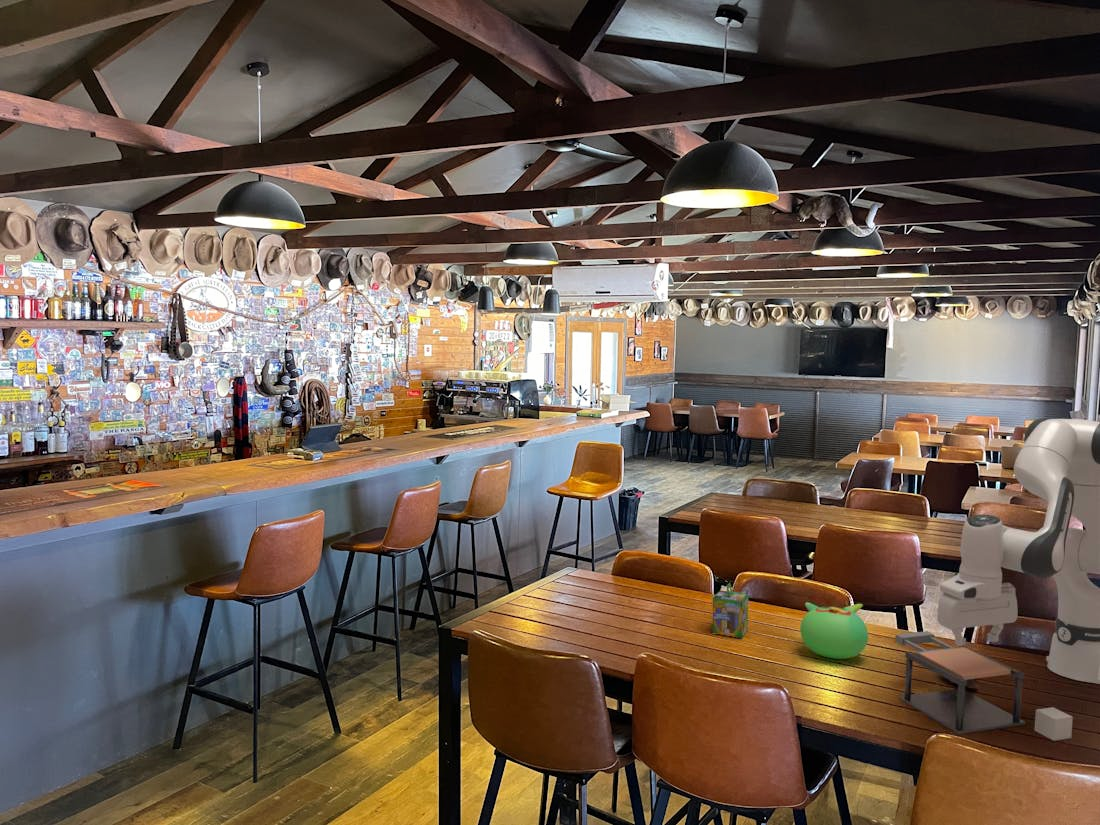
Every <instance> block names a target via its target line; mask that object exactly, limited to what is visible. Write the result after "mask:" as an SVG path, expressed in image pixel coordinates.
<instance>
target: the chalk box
mask: <svg viewBox="0 0 1100 825" xmlns="http://www.w3.org/2000/svg"><path fill="white" fill-rule="evenodd" d="M749 598H750V597H749V594H748V593H741V592H738V591H733V589H732V584H731V582H729V583H727V585H726V590H721V589H720V590H719V591H718V592H717V593H716V594H715V595H714V596H713V597H712V632H711V633H716V634H722V635H726V636H725V637H729V636H732V637H731V638H735V637H736V639H741V638H742V639H743V638H744V636H745V635H744V634H746V633H747V632H748V627H749V624H748V623H749ZM722 635H721V636H722Z"/></svg>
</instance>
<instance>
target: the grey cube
mask: <svg viewBox="0 0 1100 825" xmlns="http://www.w3.org/2000/svg"><path fill="white" fill-rule="evenodd" d="M1034 716H1035V717H1034V732H1036V733H1038V734H1040V735H1043V736H1044V737H1046V738H1048V739H1050V740H1051V741H1054V742H1055V741H1060V740H1061V741H1063V740H1067V739H1072V734H1073V732H1072V731H1073V718H1074V717H1073V716H1072V715H1070V714H1068V713H1065V712H1063V711H1062V710H1060V709H1058V708H1056V707H1054V706H1052V707H1044V708H1038V709H1035V715H1034Z"/></svg>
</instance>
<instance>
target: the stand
mask: <svg viewBox="0 0 1100 825" xmlns="http://www.w3.org/2000/svg"><path fill="white" fill-rule="evenodd" d="M959 647H966V648H967V649H969V650H971V651H973V652H975V653H977V654H979V655H981V656H983V657H985V658H987V659H989V660H991V661H993V662H995V663H998V664H1000V665H1002V666H1004V667H1006V668H1008V669H1010V670H1011V674H1009V675H1010V676H1012V677H1014V679H1015V680H1014V692H1013V694H1014V695H1013V696H1014V697H1013V709H1012V710H1013V711H1012V714H1011V713H1009V712H1007V711H1006V710H1004V709H1001V708H1000V707H998V706H996V705H994V704H993V703H990V702H988V701H987V700H984V699H983V698H981V697H979V696H977V695H976V694H973V693H971V692H969V691H968V690H966V686H967V680H965V679H963V678H961V677H959V676H957V675H955V674H953V673H951V672H949V671H947V670H945V669H943V668H941V667H940V666H938V665H936V664H934V663H932V662H930V661H928V660H926V659H924V658H922V657H920V656H918V655H916V654H915V652H911V651H906V652H905V660H906V662H905V680H904V681H905V682H904V695H899V700H901V701H902V702H905V704H907V705H909V706H911V707H913V708H914V709H916V710H917V711H919V712H921V713H923V714H924V715H926V716H928V717H929V718H932V719H933V720H935V721H936V722H938V723H939V724H941V725H943V726H945V728H946V727H947V728H948V729H949V730H951V731H953V732H955V734H956V733H957V734H958V735H961V734H962V735H964V734H969V733H974V732H982V731H988V730H996V729H997V730H998V729H1003V728H1010V727H1017V726H1023V725H1026V721H1025V720H1023V719H1021V706H1022V705H1021V704H1022V691H1023V690H1022V689H1023V679H1025V673H1024V672H1022V671H1020V670H1018V669H1016V668H1014V667H1012V666H1009V665H1007V664H1005V663H1002V662H1000V661H999V660H996V659H994V658H992V657H990V656H987V655H986V654H983V653H981V652H978V650H977V651H976V650H974V649H972V648H970V647H968V646H966V645H965V646H959ZM913 663H917V664H918V665H920V666H921V667H924V668H926V669H928V670H929V671H932V672H933V673H935V674H937V675H939V676H941V677H943V678H945V679H947V680H949V681H950V680H951V681H952V682H954V683H955V684H956V685H957V688H953V689H947V690H945V689H944V690H939V691H930V692H929V691H928V692H923V693H915V694H912V679H913V678H912V677H913ZM952 682H951V683H952ZM954 683H953V684H954Z"/></svg>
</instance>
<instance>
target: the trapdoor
mask: <svg viewBox="0 0 1100 825" xmlns="http://www.w3.org/2000/svg"><path fill="white" fill-rule="evenodd" d="M894 639H895V640H894V642H895V643H896V644H898V645H900V646H908V647H910V648H912V649H914V650H916V651H915V652H914V654H916V655H918V656H920V657H922V658H924V659H926V660H928V661H930V662H932V663H934V664H936V665H938V666H940V667H941V668H943V669H945V670H947V671H949V672H951V673H953V674H955V675H957V676H959V677H961V678H963V679H965V680H968V679H974V680H975V679H982V678H983V679H984V678H989V677H991V678H992V677H998V676H1006V675H1010V674H1011V670H1010V669H1008V668H1006V667H1004V666H1002V665H1000V664H998V663H995V662H993V661H991V660H989V659H987V658H985V657H983V656H981V655H979V654H977V653H975V652H973V651H971V650H969V649H967V648H966V647H967V646H966V647H960V646H958V647H953V646H952V645H949V644H948V643H945V642H943V641H942V640H939V639H937V638H935V634H934V633H932V632H931V631H928V630H927V631H914V632H907V633H895V637H894ZM929 643H934V644H936V645H938V646H940V647H942V648H940V649H929V650H927V649H925V648H923V647H921V646H919V644H929Z"/></svg>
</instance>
